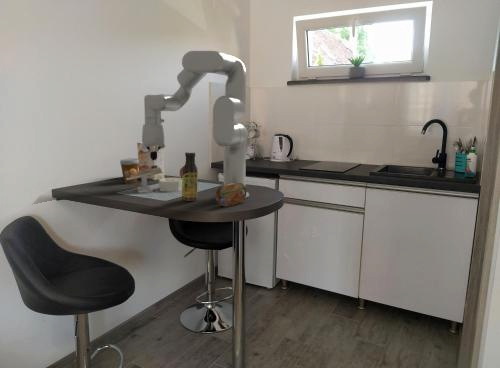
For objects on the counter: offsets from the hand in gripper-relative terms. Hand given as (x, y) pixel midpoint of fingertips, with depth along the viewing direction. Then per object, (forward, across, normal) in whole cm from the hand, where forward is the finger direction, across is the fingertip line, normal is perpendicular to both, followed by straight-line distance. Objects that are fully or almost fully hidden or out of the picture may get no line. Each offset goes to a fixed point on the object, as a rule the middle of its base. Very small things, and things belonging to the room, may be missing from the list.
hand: (153, 160), depth 178 cm
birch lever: (+6, +6, +5) cm, 10 cm away
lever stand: (+13, +5, +8) cm, 17 cm away
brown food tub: (+14, +10, -16) cm, 23 cm away
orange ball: (+4, +10, +8) cm, 14 cm away
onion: (+13, -19, -8) cm, 24 cm away
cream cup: (+13, -7, +8) cm, 17 cm away
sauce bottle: (+13, -11, +34) cm, 38 cm away
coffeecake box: (+14, -1, -28) cm, 31 cm away
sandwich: (+12, -25, +46) cm, 54 cm away
